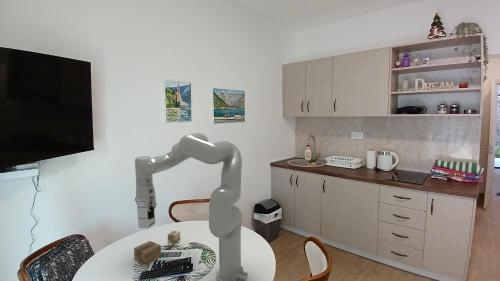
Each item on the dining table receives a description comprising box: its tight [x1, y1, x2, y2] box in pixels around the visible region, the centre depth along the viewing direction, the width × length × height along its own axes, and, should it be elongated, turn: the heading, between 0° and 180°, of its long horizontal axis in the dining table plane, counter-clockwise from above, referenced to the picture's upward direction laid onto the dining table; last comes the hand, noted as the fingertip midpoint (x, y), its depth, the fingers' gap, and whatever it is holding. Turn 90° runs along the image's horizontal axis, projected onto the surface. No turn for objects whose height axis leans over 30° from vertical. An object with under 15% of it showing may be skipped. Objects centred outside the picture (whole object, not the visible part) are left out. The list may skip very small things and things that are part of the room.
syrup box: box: [136, 199, 156, 230], centre depth 129 cm, size 6×6×14 cm
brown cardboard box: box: [133, 240, 162, 266], centre depth 131 cm, size 9×9×6 cm
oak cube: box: [167, 230, 181, 245], centre depth 148 cm, size 5×5×5 cm
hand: (146, 216), depth 129 cm, fingers closed on syrup box, 7 cm apart
